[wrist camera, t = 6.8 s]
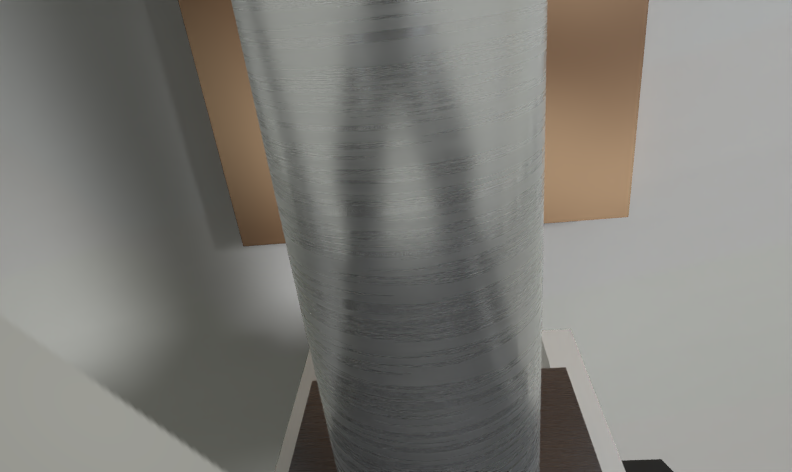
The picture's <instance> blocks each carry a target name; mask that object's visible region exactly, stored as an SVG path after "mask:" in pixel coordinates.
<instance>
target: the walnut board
mask: <svg viewBox="0 0 792 472" xmlns="http://www.w3.org/2000/svg"><path fill="white" fill-rule="evenodd" d="M178 2H179V6H180V9H181V13H182V17H183V21H184V25H185V28H186V32H187V36H188V40H189V43H190V47H191V51H192V55H193V58H194V62H195V66H196V70H197V73H198V77H199V81H200V85H201V88H202V92H203V96H204V100H205V104H206V107H207V111H208V115H209V119H210V122H211V126H212V130H213V134H214V137H215V141H216V145H217V149H218V152H219V156H220V160H221V164H222V167H223V171H224V175H225V179H226V183H227V186H228V190H229V194H230V198H231V201H232V205H233V209H234V213H235V216H236V220H237V224H238V228H239V231H240V235H241V239H242V243H243V246H254V245H267V244H280V243H286V242H285V237H284V233H283V229H282V224H281V220H280V215H279V211H278V206H277V202H276V197H275V193H274V189H273V184H272V180H271V175H270V171H269V166H268V162H267V158H266V153H265V149H264V144H263V140H262V135H261V131H260V126H259V122H258V118H257V113H256V109H255V104H254V100H253V95H252V91H251V86H250V82H249V78H248V73H247V69H246V64H245V60H244V55H243V51H242V47H241V42H240V38H239V33H238V29H237V24H236V20H235V15H234V11H233V7H232V2H231V0H178ZM648 3H649V0H547V50H546V110H545V170H544V223H555V222H568V221H581V220H594V219H607V218H621V217H628V215H629V204H630V194H631V183H632V172H633V162H634V151H635V141H636V130H637V119H638V109H639V98H640V88H641V77H642V67H643V56H644V45H645V35H646V24H647V14H648Z"/></svg>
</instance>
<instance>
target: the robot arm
mask: <svg viewBox="0 0 792 472" xmlns="http://www.w3.org/2000/svg"><path fill="white" fill-rule="evenodd" d="M560 367H566V369H567V372H568V375H569V378H570V381H571V384H572V387H573V390H574V392H575V395H576V398H577V401H578V404H579V407H580V410H581V412H582V415H583V418H584V421H585V424H586V427H587V430H588V432H589V435H590V438H591V441H592V444H593V447H594V450H595V452H596V455H597V458H598V461H599V464H600V467H601V470H602V472H673V471H672V470H671V469H670V468H669V467H668V466H667V465H666V464H665V463H664V462H663V461H662V460H661V459H658V460H628V461H621V458H620V455H619V453H618V450H617V448H616V445H615V443H614V440H613V437H612V435H611V432H610V430H609V427H608V424H607V422H606V419H605V417H604V414H603V411H602V409H601V406H600V404H599V401H598V399H597V396H596V393H595V391H594V388H593V386H592V383H591V380H590V378H589V375H588V373H587V370H586V368H585V365H584V362H583V360H582V357H581V355H580V352H579V349H578V347H577V344H576V342H575V339H574V337H573V334H572V331H571V329H560V330H542V348H541V369H542V368H560ZM312 381H317V380H316V375H315V371H314V366H313V362H312V357H311V353H310V350H309V353H308V357H307V360H306V364H305V367H304V371H303V374H302V378H301V381H300V385H299V388H298V392H297V395H296V399H295V402H294V406H293V409H292V413H291V416H290V420H289V423H288V427H287V430H286V433H285V437H284V440H283V444H282V447H281V451H280V454H279V458H278V461H277V465H276V468H275V472H289V468H290V464H291V460H292V456H293V453H294V449H295V445H296V441H297V437H298V433H299V430H300V426H301V422H302V418H303V414H304V410H305V407H306V403H307V399H308V395H309V391H310V388H311V384H312Z"/></svg>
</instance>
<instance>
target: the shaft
mask: <svg viewBox="0 0 792 472" xmlns="http://www.w3.org/2000/svg"><path fill="white" fill-rule="evenodd" d="M231 2H232V7H233V11H234V15H235V20H236V24H237V29H238V33H239V38H240V42H241V47H242V51H243V55H244V60H245V64H246V69H247V73H248V78H249V82H250V86H251V91H252V95H253V100H254V104H255V109H256V113H257V118H258V122H259V126H260V131H261V135H262V140H263V144H264V149H265V153H266V158H267V162H268V166H269V171H270V175H271V180H272V184H273V189H274V193H275V197H276V202H277V206H278V211H279V215H280V220H281V224H282V229H283V233H284V237H285V242H286V246H287V251H288V255H289V260H290V264H291V269H292V273H293V277H294V282H295V286H296V291H297V295H298V300H299V304H300V308H301V313H302V317H303V322H304V326H305V331H306V335H307V340H308V344H309V348H310V353H311V357H312V362H313V366H314V371H315V375H316V380H317V381H312V384H311V388H310V391H309V395H308V399H307V403H306V407H305V410H304V414H303V418H302V422H301V426H300V430H299V433H298V437H297V441H296V445H295V449H294V453H293V456H292V460H291V464H290V468H289V472H602V470H601V467H600V464H599V461H598V458H597V455H596V452H595V450H594V447H593V444H592V441H591V438H590V435H589V432H588V430H587V427H586V424H585V421H584V418H583V415H582V412H581V410H580V407H579V404H578V401H577V398H576V395H575V392H574V390H573V387H572V384H571V381H570V378H569V375H568V372H567V369H566V367H560V368H542V369H541V348H542V289H543V229H544V170H545V110H546V50H547V0H231Z"/></svg>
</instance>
